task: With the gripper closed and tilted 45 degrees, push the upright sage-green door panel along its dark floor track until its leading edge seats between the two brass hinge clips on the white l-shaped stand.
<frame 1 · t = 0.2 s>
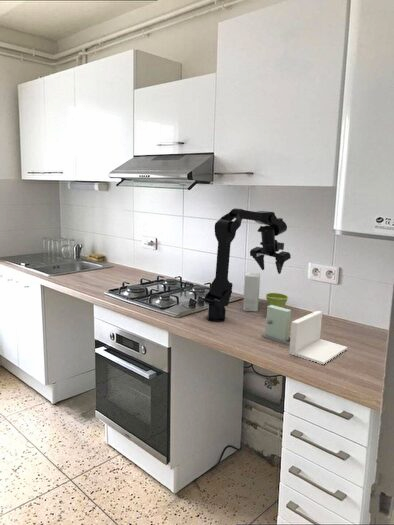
hand: (271, 271, 188), 15 cm above the worktop, tool pointing down, fingers open, 9 cm apart
plant pot: (275, 316, 176), on the worktop
skincare box: (250, 309, 184), on the worktop
door: (277, 323, 148), point 6 cm above the worktop, slide at 0.0 cm
white l-shaped stand: (302, 346, 143), on the worktop
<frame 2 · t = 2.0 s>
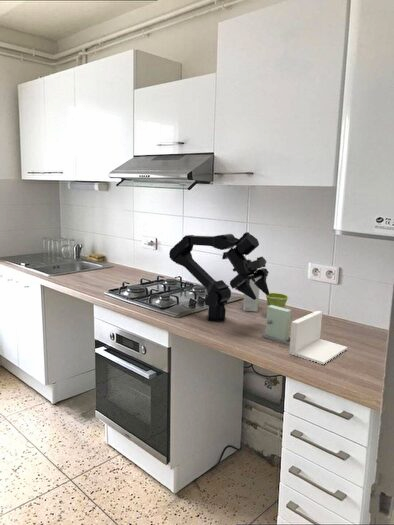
hand: (262, 296, 153), 14 cm above the worktop, tool tilted 45°, fingers open, 9 cm apart
nothing on the worktop moved.
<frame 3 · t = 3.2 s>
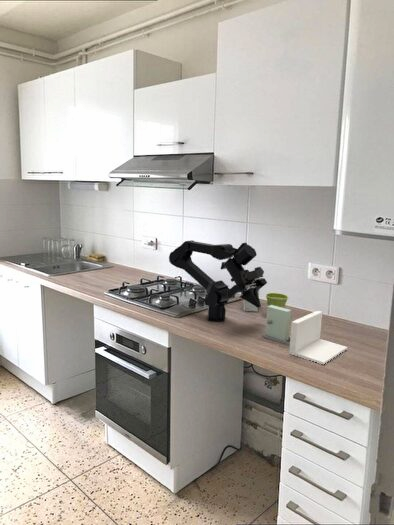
hand: (259, 307, 153), 10 cm above the worktop, tool tilted 45°, fingers closed
nothing on the worktop moved.
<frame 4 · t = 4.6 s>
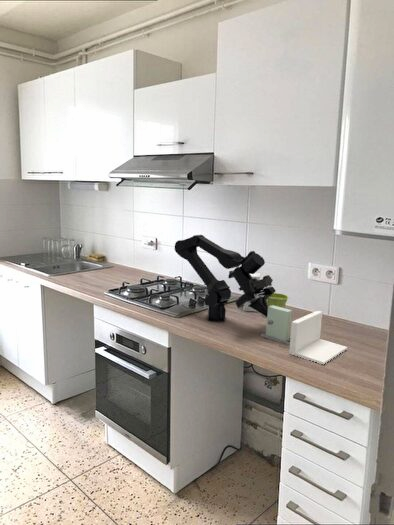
hand: (268, 316, 151), 7 cm above the worktop, tool tilted 45°, fingers closed, pressing on door
door: (278, 323, 148), point 6 cm above the worktop, slide at 0.3 cm, touching gripper
everything else where it was.
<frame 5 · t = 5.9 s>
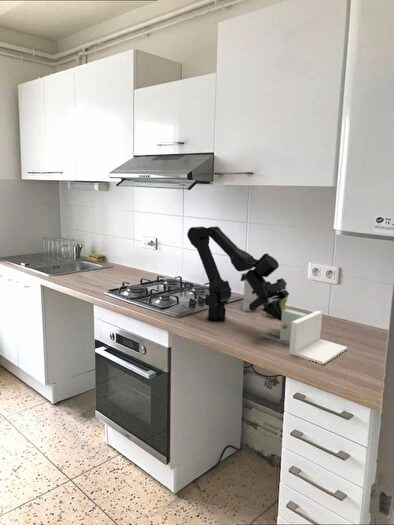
hand: (282, 320, 147), 7 cm above the worktop, tool tilted 45°, fingers closed
door: (292, 327, 144), point 6 cm above the worktop, slide at 6.1 cm
everything else where it was.
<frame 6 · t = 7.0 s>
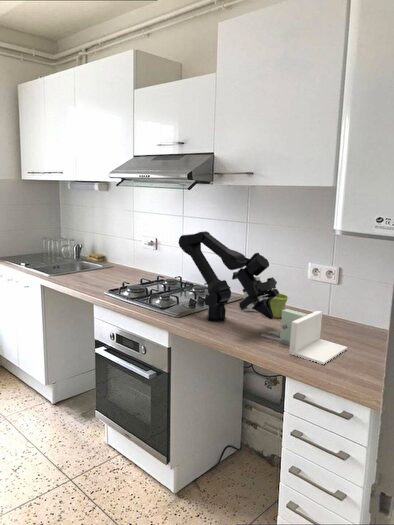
hand: (272, 318, 150), 7 cm above the worktop, tool tilted 45°, fingers closed
nothing on the worktop moved.
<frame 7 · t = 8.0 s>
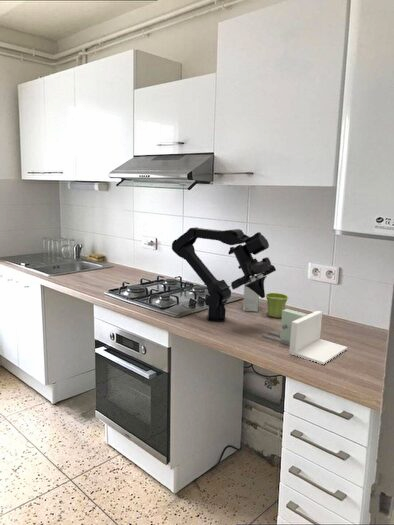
hand: (263, 297, 155), 13 cm above the worktop, tool tilted 35°, fingers closed
nothing on the worktop moved.
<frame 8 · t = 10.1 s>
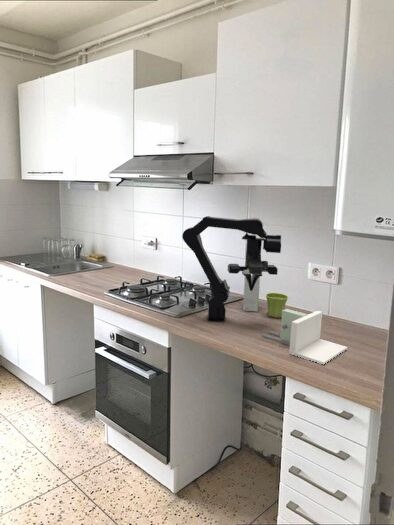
hand: (250, 290, 163), 13 cm above the worktop, tool pointing down, fingers closed
nothing on the worktop moved.
at the end: door slide at 6.1 cm; the gripper is holding nothing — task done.
